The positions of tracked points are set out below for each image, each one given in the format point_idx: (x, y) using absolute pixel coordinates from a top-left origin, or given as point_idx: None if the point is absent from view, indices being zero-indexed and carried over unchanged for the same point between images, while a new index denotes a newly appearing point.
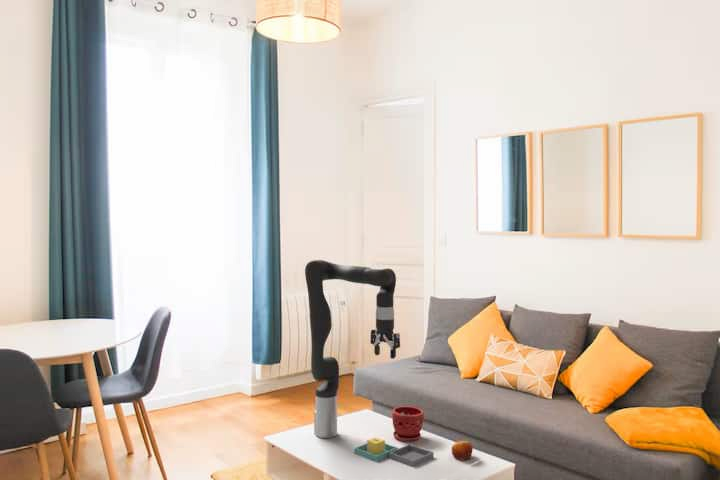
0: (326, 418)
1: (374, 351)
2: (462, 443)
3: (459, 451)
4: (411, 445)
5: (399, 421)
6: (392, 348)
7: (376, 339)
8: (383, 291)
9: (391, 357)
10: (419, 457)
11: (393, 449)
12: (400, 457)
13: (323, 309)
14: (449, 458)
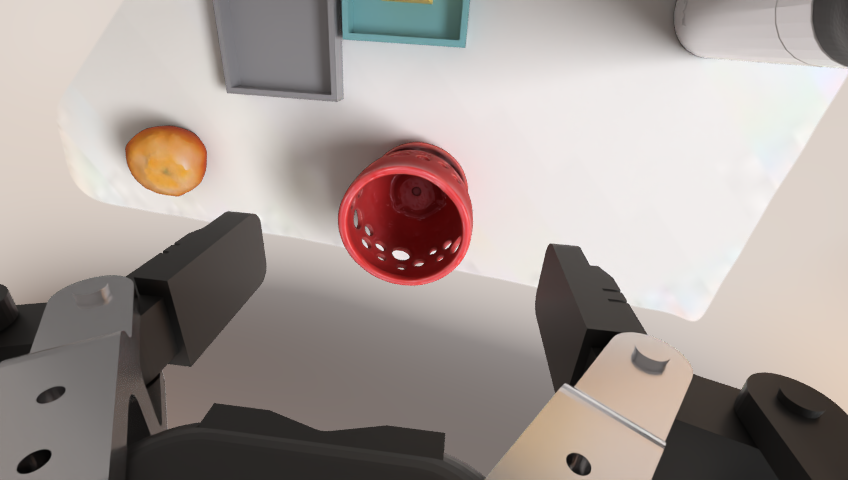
0: None
1: (614, 284)
2: (131, 149)
3: (147, 128)
4: (322, 96)
5: (402, 156)
6: (76, 287)
7: (611, 476)
8: None
9: (225, 212)
10: (265, 56)
11: (342, 9)
12: None
13: None
14: (208, 125)
